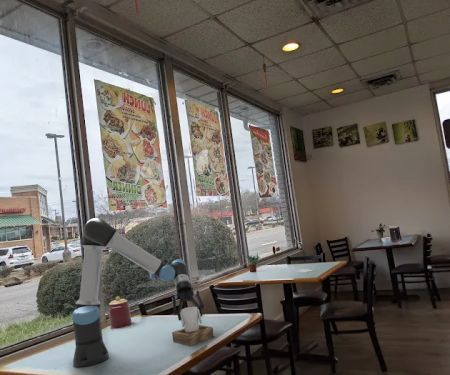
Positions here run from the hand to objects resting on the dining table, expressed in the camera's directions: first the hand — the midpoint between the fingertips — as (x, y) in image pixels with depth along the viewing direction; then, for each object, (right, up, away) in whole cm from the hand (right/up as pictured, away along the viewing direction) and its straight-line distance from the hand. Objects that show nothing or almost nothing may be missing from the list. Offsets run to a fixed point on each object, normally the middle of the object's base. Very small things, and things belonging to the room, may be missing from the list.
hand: (192, 323), depth 190 cm
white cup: (0, -4, +3) cm, 5 cm away
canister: (-49, -22, +60) cm, 80 cm away
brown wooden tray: (0, -8, +3) cm, 9 cm away
